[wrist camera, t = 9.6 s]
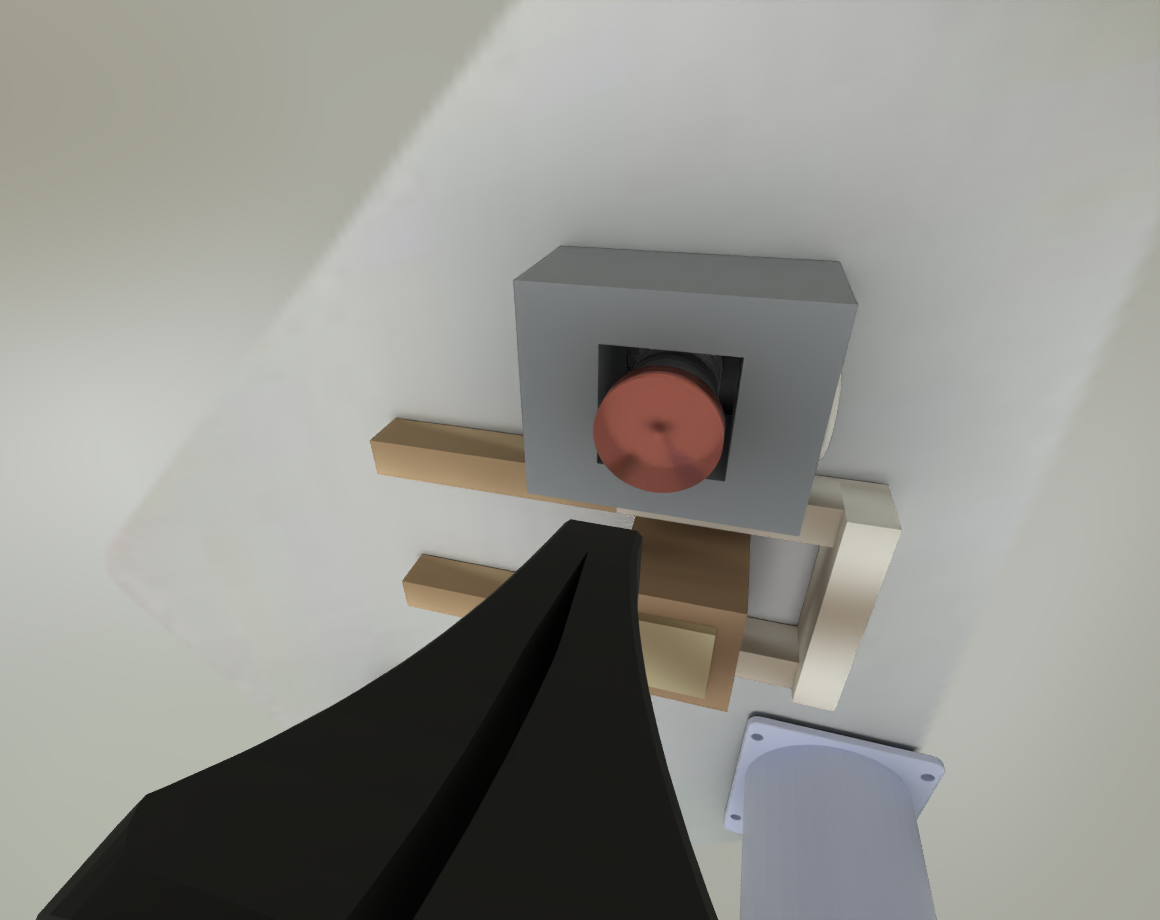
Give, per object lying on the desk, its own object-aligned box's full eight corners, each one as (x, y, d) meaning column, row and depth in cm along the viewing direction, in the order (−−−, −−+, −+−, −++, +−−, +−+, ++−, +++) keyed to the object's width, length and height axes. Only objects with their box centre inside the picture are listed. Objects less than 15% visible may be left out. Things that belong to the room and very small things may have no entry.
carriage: (734, 604, 23) (726, 720, 19) (636, 586, 24) (607, 692, 20) (751, 513, 21) (747, 622, 17) (641, 497, 22) (610, 595, 18)
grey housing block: (800, 463, 19) (807, 537, 16) (564, 431, 21) (527, 493, 18) (847, 262, 16) (867, 304, 13) (560, 246, 18) (513, 280, 14)
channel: (828, 659, 23) (834, 711, 21) (426, 578, 28) (400, 615, 26) (888, 485, 19) (902, 530, 17) (395, 418, 23) (360, 448, 21)
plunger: (726, 415, 19) (714, 501, 15) (628, 404, 19) (592, 483, 15) (740, 319, 17) (731, 386, 13) (632, 310, 18) (593, 371, 14)
